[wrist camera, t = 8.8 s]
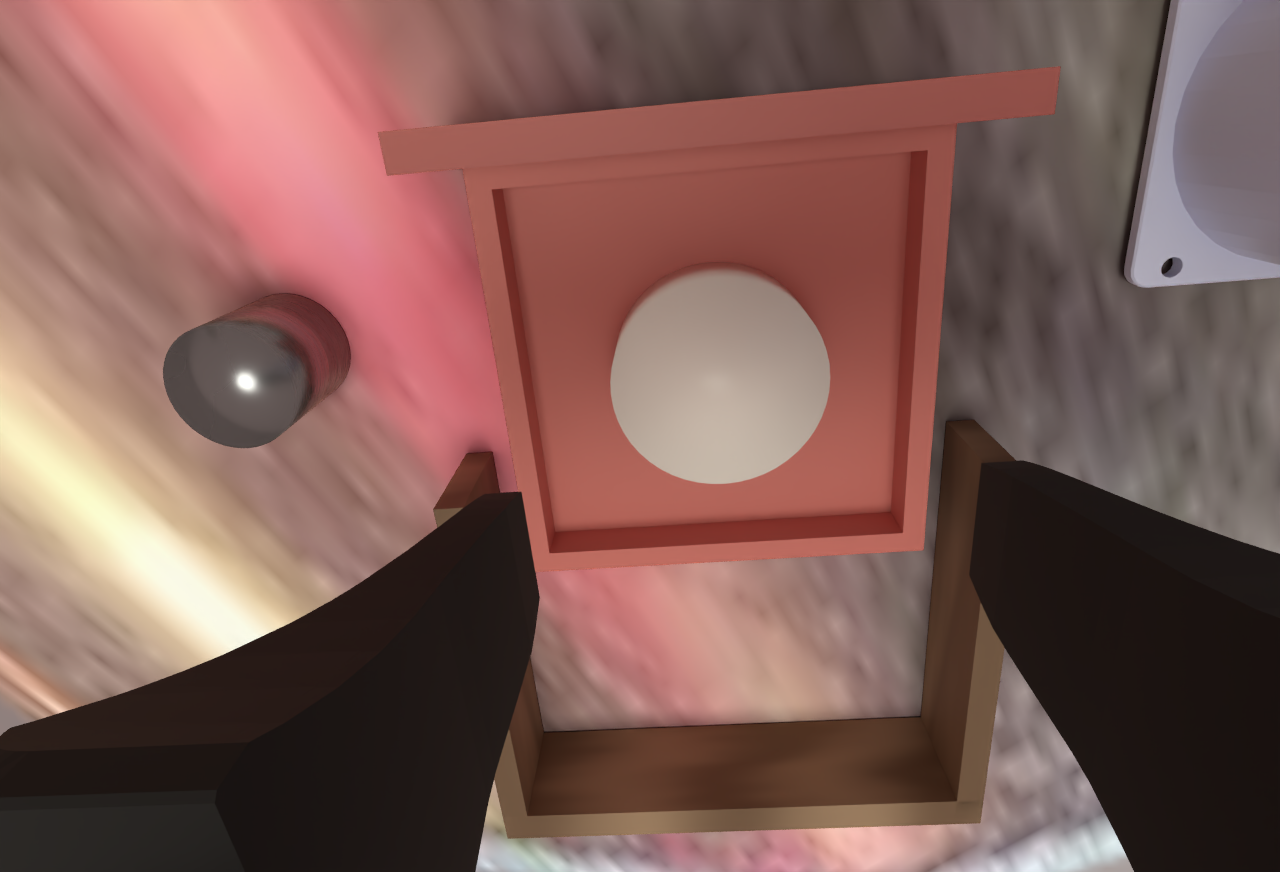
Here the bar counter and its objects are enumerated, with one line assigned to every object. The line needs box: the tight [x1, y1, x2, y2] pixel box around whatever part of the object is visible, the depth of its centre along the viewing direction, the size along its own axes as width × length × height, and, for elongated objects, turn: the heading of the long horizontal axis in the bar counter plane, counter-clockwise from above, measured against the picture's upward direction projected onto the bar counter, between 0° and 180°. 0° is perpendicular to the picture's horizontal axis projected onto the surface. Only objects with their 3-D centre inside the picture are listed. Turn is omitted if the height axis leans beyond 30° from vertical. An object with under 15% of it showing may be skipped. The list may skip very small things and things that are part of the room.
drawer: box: [378, 66, 1061, 572], centre depth 18 cm, size 13×12×5 cm
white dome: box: [610, 262, 830, 484], centre depth 19 cm, size 5×5×2 cm
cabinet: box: [433, 420, 1016, 839], centre depth 23 cm, size 15×12×4 cm
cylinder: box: [163, 294, 350, 448], centre depth 20 cm, size 3×3×4 cm
